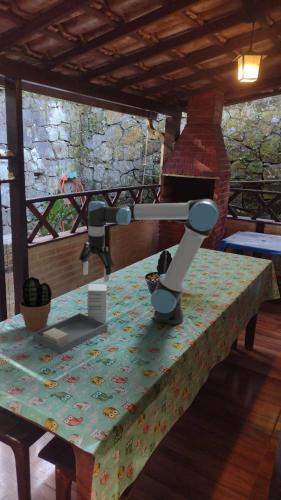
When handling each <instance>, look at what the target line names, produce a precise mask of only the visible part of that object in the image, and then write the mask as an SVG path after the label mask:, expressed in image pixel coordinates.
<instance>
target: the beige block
mask: <svg viewBox="0 0 281 500" xmlns="http://www.w3.org/2000/svg"><path fill="white" fill-rule="evenodd" d="M43 337H44V338H47V339H49V340H51V341H53V342H55V343H57V344H59V345H63V344H65V343H67V342H68V334H67V333H65V332H62V331H60V330H58V329H56V328H53V329H50V330H48V331H46V332H43Z"/></svg>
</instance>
